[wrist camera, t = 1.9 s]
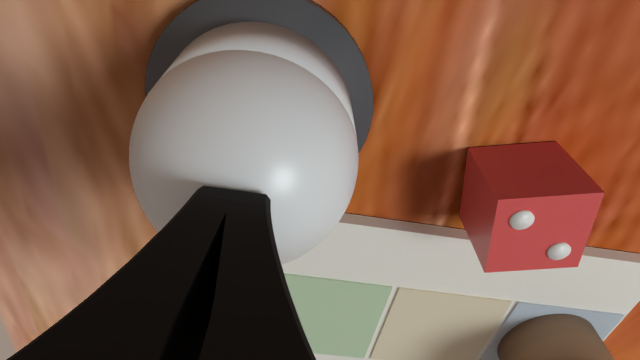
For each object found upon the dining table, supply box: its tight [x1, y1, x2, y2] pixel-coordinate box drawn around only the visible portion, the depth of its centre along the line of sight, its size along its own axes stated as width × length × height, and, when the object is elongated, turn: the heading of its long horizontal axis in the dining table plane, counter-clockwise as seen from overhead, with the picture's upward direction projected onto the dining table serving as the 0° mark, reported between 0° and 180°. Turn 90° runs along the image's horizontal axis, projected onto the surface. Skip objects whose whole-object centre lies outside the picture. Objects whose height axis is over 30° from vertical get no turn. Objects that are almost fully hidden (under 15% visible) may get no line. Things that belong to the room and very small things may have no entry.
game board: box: [282, 213, 640, 360], centre depth 20 cm, size 11×16×1 cm
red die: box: [459, 141, 605, 273], centre depth 14 cm, size 3×3×3 cm
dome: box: [129, 21, 358, 265], centre depth 11 cm, size 6×6×6 cm
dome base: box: [145, 0, 373, 153], centre depth 14 cm, size 7×7×1 cm
